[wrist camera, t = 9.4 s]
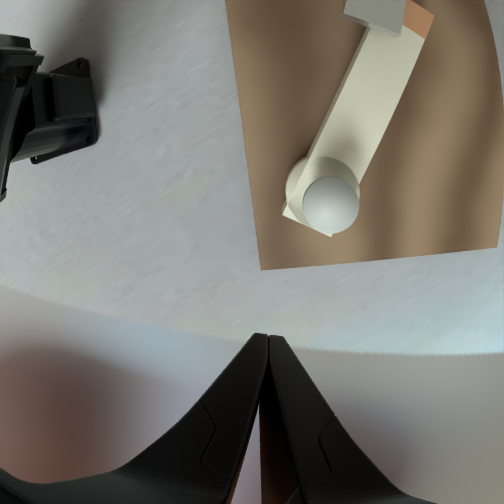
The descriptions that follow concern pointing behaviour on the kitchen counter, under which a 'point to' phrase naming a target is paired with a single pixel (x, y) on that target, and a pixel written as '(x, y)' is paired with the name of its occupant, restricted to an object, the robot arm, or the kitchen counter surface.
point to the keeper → (376, 14)
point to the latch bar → (354, 126)
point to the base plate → (393, 140)
